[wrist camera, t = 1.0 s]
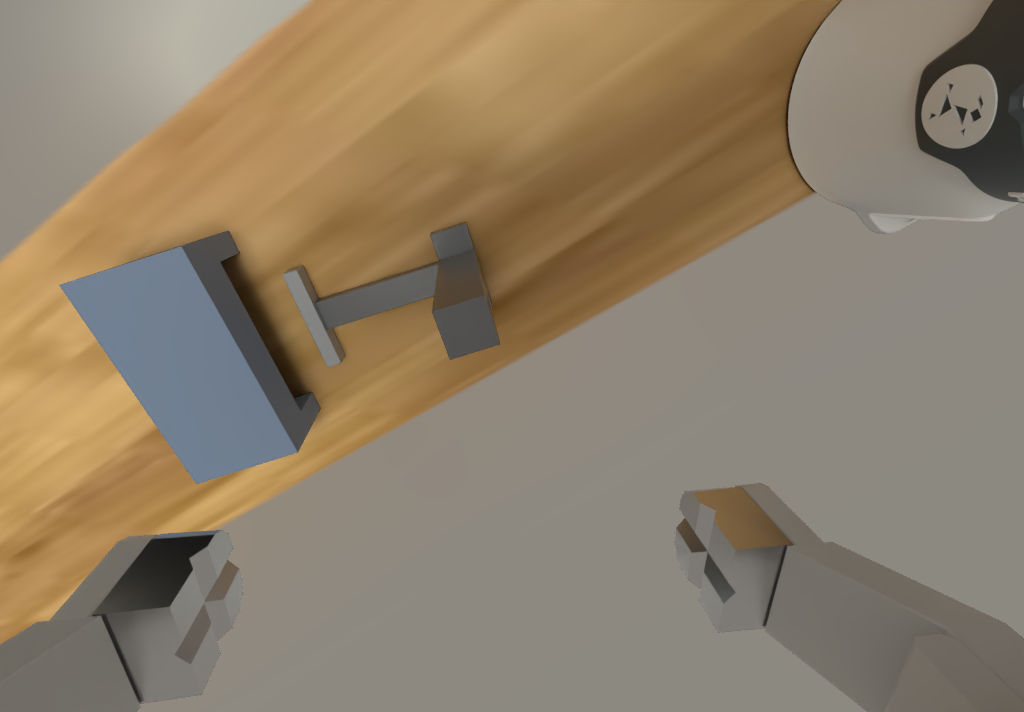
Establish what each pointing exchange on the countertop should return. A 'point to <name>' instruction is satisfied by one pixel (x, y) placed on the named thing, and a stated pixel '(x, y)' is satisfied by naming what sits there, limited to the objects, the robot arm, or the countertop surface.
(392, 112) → the countertop surface
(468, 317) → the scraper
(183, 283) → the blue-grey bridge block
